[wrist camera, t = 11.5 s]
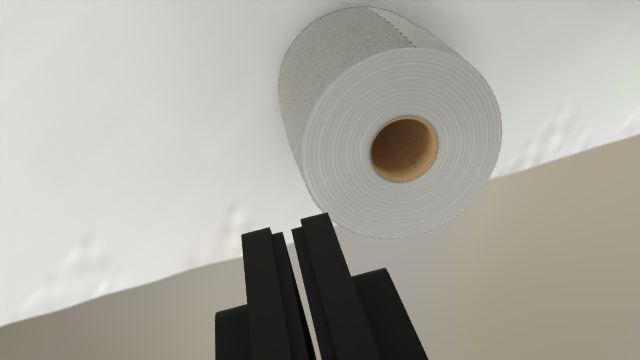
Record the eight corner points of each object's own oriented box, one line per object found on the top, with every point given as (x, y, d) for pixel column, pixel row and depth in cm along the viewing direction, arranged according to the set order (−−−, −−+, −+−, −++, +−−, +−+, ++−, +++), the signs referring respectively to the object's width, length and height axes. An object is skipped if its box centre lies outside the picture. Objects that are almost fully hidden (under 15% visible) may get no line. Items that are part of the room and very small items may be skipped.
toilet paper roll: (252, 38, 41) (266, 89, 31) (417, -21, 41) (486, 10, 31) (306, 184, 47) (333, 268, 37) (451, 132, 47) (519, 201, 37)
